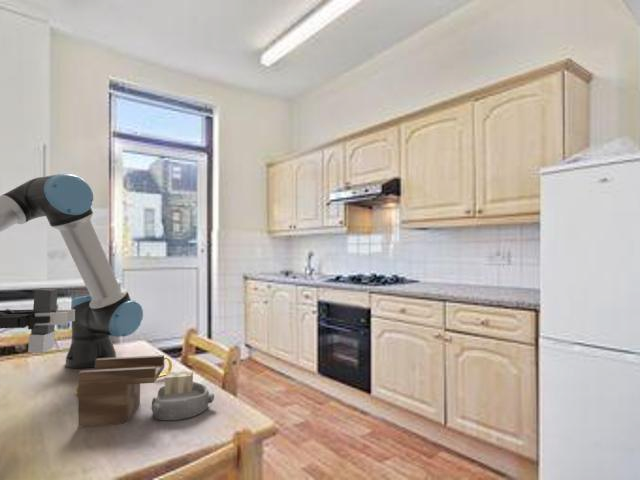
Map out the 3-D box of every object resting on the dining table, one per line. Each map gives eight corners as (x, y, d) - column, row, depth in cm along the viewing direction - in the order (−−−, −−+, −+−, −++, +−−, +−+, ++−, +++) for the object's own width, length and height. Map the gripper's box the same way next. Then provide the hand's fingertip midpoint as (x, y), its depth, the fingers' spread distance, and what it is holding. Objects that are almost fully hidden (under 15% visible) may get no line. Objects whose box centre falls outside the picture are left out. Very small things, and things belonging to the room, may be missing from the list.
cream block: (167, 372, 103) (180, 371, 103) (167, 388, 103) (180, 387, 103) (164, 377, 99) (177, 376, 100) (164, 394, 99) (177, 393, 99)
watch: (168, 373, 131) (169, 354, 131) (172, 375, 129) (173, 356, 129) (149, 376, 126) (151, 357, 127) (153, 378, 124) (155, 358, 125)
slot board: (97, 406, 104) (97, 358, 104) (164, 401, 107) (164, 354, 107) (78, 426, 92) (78, 372, 92) (154, 421, 95) (153, 368, 95)
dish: (153, 427, 92) (152, 405, 92) (147, 406, 104) (147, 386, 104) (218, 415, 99) (218, 394, 99) (205, 396, 111) (205, 377, 111)
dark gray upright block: (39, 346, 99) (44, 287, 99) (54, 347, 99) (59, 288, 99) (26, 352, 93) (32, 290, 93) (43, 352, 94) (49, 291, 94)
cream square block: (180, 371, 103) (192, 370, 104) (180, 387, 103) (192, 386, 104) (177, 376, 100) (190, 375, 100) (177, 393, 100) (190, 392, 100)
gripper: (-20, 329, 101) (84, 326, 105) (-71, 345, 85) (54, 340, 89) (-20, 298, 101) (84, 296, 105) (-71, 309, 85) (54, 305, 89)
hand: (70, 316), depth 97 cm, fingers closed on dark gray upright block, 3 cm apart
